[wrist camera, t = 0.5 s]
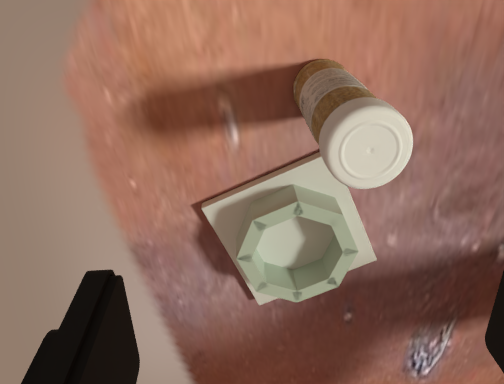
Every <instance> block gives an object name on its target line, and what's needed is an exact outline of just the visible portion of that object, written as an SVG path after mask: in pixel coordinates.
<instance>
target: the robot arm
mask: <svg viewBox="0 0 504 384" xmlns="http://www.w3.org/2000/svg"><path fill="white" fill-rule="evenodd" d="M485 342H486V346H487V349H488V350H489V352H490V354H491V355H492V356H493V358H494V359H495V361H496V362H497V364H498V365H499V367H500V368H501V370H502V371H503V373H504V271H503V275H502V278H501V282H500V285H499V289H498V292H497V296H496V299H495V303H494V306H493V310H492V313H491V317H490V320H489V324H488V327H487V331H486V334H485ZM139 361H140V360H139V353H138V348H137V343H136V339H135V334H134V329H133V324H132V320H131V315H130V310H129V305H128V301H127V296H126V292H125V287H124V282H123V278H122V276H120V275H117V276H115V274H114V272H113V270H96V271H87V272H86V274H85V275H84V277H83V279H82V282H81V284H80V286H79V288H78V290H77V292H76V294H75V296H74V298H73V300H72V302H71V304H70V307H69V309H68V311H67V313H66V315H65V317H64V319H63V321H62V323H61V326H60V327H59V329H58V330H51V331H49V332H48V333H47V335H46V336H45V338H44V339H43V341H42V343H41V345H40V347H39V349H38V351H37V353H36V355H35V357H34V359H33V361H32V363H31V365H30V367H29V369H28V371H27V373H26V375H25V377H24V379H23V381H22V383H21V384H136V381H137V376H138V372H139V363H140V362H139Z"/></svg>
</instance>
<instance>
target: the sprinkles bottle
mask: <svg viewBox="0 0 504 384" xmlns="http://www.w3.org/2000/svg"><path fill="white" fill-rule="evenodd" d="M293 94H294V99H295V102H296V104H297V106H298V107H299V108H300V110H301V113H302V115H303V117H304V119H305V121H306V123H307V125H308V127H309V129H310V131H311V133H312V135H313V137H314V139H315V140H316V142H317V143H318V145H319V150H320V154H321V157H322V159H323V161H324V163H325V165H326V166H327V168H328V170H329V171H330V173H331V174H332V175H333V177H334V178H335V179H336V180H338V181H339V182H340V183H342V184H344V185H346V186H349V187H352V188H356V189H370V188H375V187H379V186H381V185H384V184H386V183H388V182H389V181H391V180H392V179H394V178H395V177H396V176H397V175H398V174H399V173H400V172H401V171H402V170H403V169H404V167H405V166H406V164H407V163H408V161H409V158H410V156H411V153H412V148H413V136H412V131H411V128H410V126H409V124H408V122H407V121H406V119H405V118H404V117H403V116H402V115H401V114H400V113H399V112H398V111H397V110H396V109H395V108H393V107H392V106H391V105H390V104H388V103H387V102H385V101H383V100H380V99H377V98H376V97H375V96H374V95H373V94H372V93H371V92H370V91H369V90H368V89H367V88H366V87H365V86H364V85H363V84H362V83H361V82H360V81H359V80H357V79H356V78H355V77H354V76H353V75H351V74H350V73H349V72H347V71H346V70H345V68H344V67H343V66H342V65H340V64H339V63H337V62H335V61H332V60H329V59H319V60H316V61H312V62H310V63H309V64H307V65H305V66H304V67H303V68H302V69H301V70H300V72H299V73H298V75H297V76H296V79H295V81H294V85H293Z"/></svg>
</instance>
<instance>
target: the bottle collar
mask: <svg viewBox="0 0 504 384" xmlns="http://www.w3.org/2000/svg"><path fill="white" fill-rule="evenodd" d="M201 209H202V211H203V212H204V214H205V216H206V217H207V219H208V221H209V222H210V224H211V226H212V227H213V229H214V231H215V232H216V234H217V236H218V237H219V239H220V241H221V242H222V244H223V246H224V247H225V249H226V251H227V252H228V254H229V256H230V257H231V259H232V261H233V262H234V264H235V266H236V267H237V269H238V271H239V272H240V274H241V276H242V277H243V279H244V281H245V282H246V284H247V286H248V287H249V289H250V291H251V292H252V294H253V296H254V297H255V299H256V301H257V302H258V304H259V305H262V304H264V303H267V302H270V301H272V300H275V299H277V298H282V299H286V300H289V301H293V302H300V301H303V300H305V299H308V298H310V297H313V296H316V295H318V294H321V293H323V292H326V291H329V290H331V289H334V288H337V287H339V285H340V283H341V282H342V280H343V278H344V276H345V275H346V273H347V271H350V270H352V269H355V268H357V267H360V266H363V265H365V264H368V263H370V262H373V261H375V260H377V259H376V256H375V254H374V251H373V249H372V246H371V244H370V241H369V239H368V236H367V234H366V231H365V229H364V226H363V224H362V222H361V219H360V217H359V214H358V212H357V209H356V207H355V204H354V202H353V199H352V197H351V194H350V192H349V189H348V187H347V186H346V185H344V184H342V183H340V182H339V181H338V180H336V179H335V178H334V177H333V175H332V174H331V173H330V171H329V170H328V168H327V166H326V165H325V163H324V161H323V159H322V157H321V154H320V152H318V153H316V154H313V155H311V156H309V157H306V158H304V159H302V160H300V161H297V162H295V163H293V164H290V165H288V166H286V167H284V168H281V169H279V170H277V171H274V172H272V173H270V174H268V175H265V176H263V177H261V178H258V179H256V180H254V181H252V182H249V183H247V184H245V185H242V186H240V187H238V188H236V189H233V190H231V191H229V192H226V193H224V194H222V195H219V196H217V197H215V198H213V199H210V200H208V201H206V202H203V203H202V208H201Z"/></svg>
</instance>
